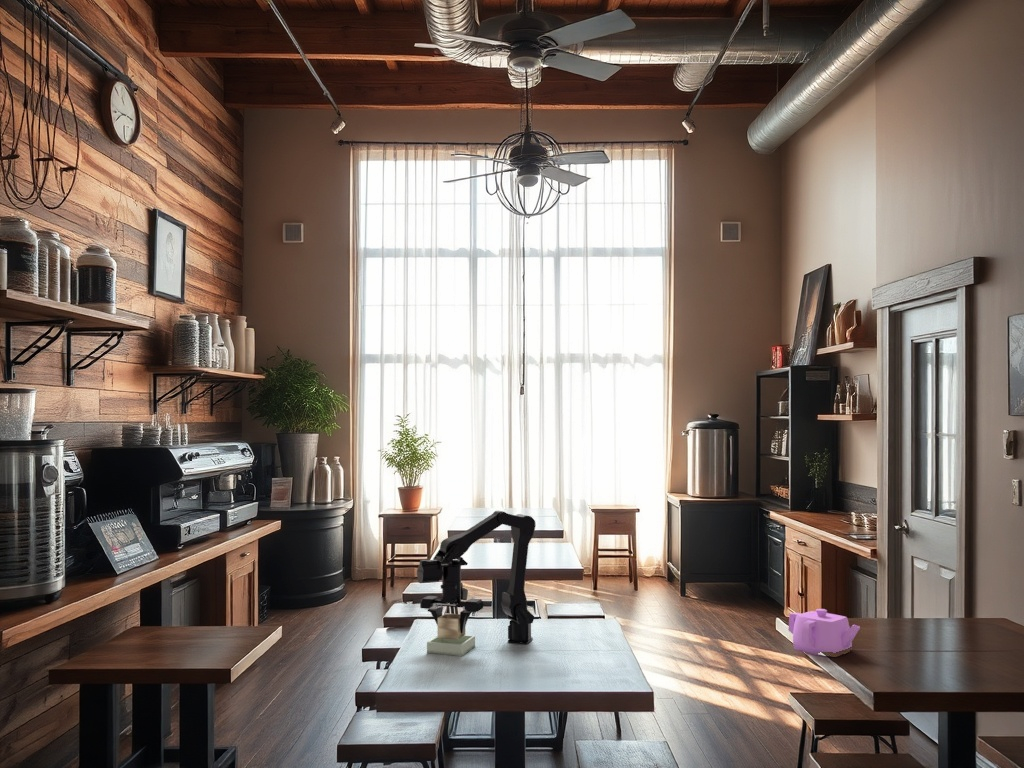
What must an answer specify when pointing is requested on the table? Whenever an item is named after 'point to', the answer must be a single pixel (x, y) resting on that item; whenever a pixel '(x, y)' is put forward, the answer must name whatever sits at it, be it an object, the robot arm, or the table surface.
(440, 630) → the small crate
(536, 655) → the table surface
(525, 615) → the robot arm
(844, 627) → the teakettle
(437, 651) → the pale green square tray
